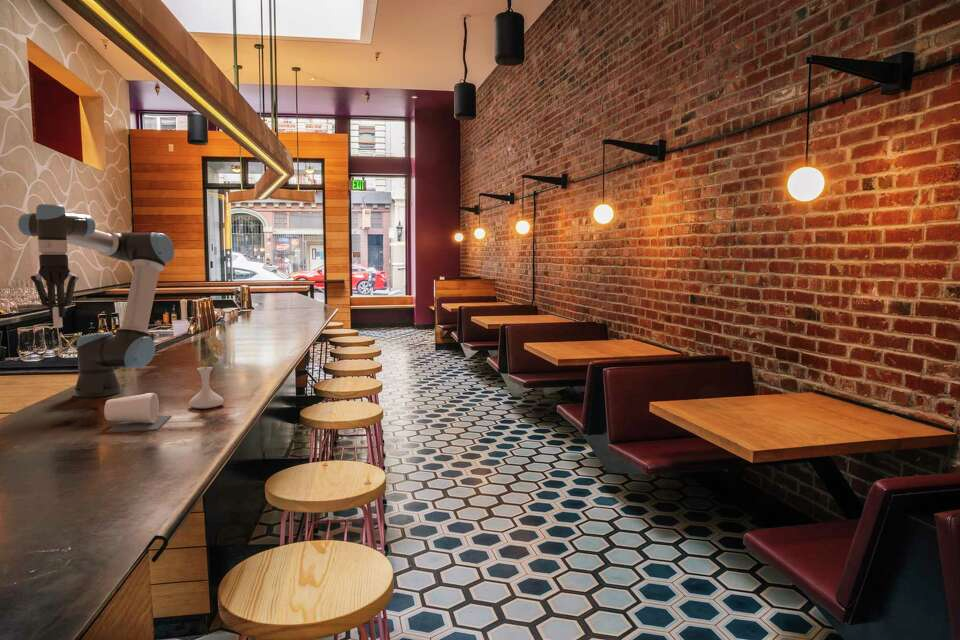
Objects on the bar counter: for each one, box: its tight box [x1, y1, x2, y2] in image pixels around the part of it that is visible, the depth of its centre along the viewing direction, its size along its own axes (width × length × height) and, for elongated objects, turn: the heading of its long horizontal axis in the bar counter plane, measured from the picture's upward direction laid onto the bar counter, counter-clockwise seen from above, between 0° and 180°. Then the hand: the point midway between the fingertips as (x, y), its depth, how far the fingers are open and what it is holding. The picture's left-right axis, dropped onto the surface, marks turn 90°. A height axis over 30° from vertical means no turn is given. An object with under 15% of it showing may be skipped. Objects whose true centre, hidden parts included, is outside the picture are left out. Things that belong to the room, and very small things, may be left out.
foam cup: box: [103, 392, 160, 424], centre depth 189 cm, size 10×9×13 cm
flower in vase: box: [187, 334, 226, 409], centre depth 212 cm, size 13×11×25 cm
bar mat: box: [105, 414, 172, 434], centre depth 191 cm, size 16×14×1 cm
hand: (58, 327), depth 196 cm, fingers closed
